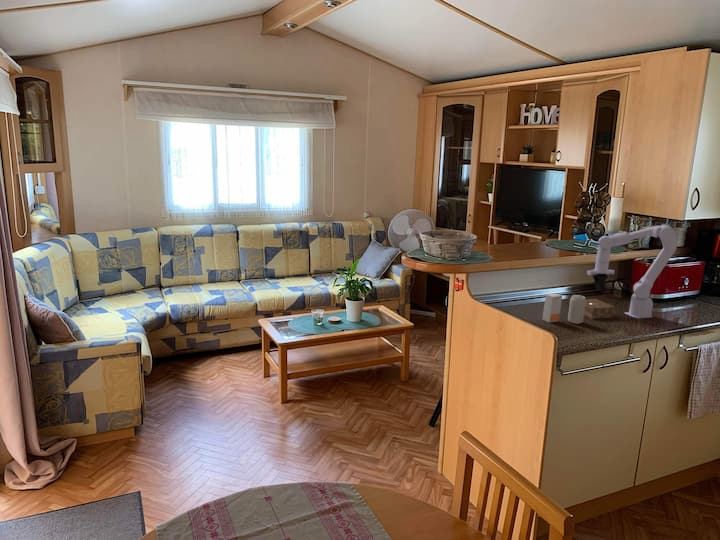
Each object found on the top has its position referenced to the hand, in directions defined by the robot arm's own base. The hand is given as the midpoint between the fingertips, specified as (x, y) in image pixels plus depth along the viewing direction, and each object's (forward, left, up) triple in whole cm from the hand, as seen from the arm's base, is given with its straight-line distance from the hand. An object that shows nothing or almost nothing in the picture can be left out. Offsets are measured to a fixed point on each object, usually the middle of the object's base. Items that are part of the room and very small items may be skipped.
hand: (598, 289), depth 265 cm
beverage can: (+24, +14, -11) cm, 30 cm away
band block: (+6, +5, -10) cm, 13 cm away
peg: (+6, +5, -9) cm, 12 cm away
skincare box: (+34, +10, -11) cm, 37 cm away
